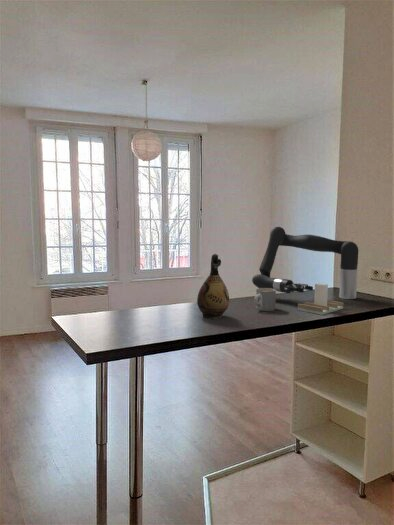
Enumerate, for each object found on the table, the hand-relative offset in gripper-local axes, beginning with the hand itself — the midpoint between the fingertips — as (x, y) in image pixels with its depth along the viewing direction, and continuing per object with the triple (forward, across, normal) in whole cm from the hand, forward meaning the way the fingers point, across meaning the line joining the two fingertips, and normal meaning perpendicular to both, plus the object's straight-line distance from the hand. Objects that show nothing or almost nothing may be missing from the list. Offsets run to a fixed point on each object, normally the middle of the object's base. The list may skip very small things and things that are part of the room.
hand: (308, 289), depth 213 cm
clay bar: (+8, 0, +8) cm, 11 cm away
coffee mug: (-12, -22, +10) cm, 27 cm away
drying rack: (+8, 0, +9) cm, 12 cm away
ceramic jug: (-18, -52, +10) cm, 56 cm away
